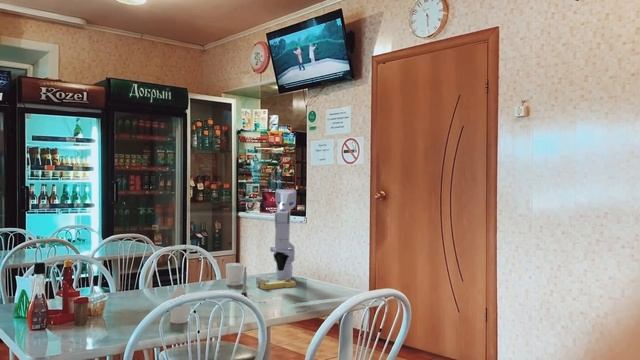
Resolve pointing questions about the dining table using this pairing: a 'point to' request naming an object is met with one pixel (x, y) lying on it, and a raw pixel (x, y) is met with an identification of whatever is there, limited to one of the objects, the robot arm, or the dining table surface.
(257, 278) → the keeper
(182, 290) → the roll
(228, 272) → the white cup
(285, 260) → the robot arm
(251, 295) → the tow hook
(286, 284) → the link
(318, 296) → the dining table surface
